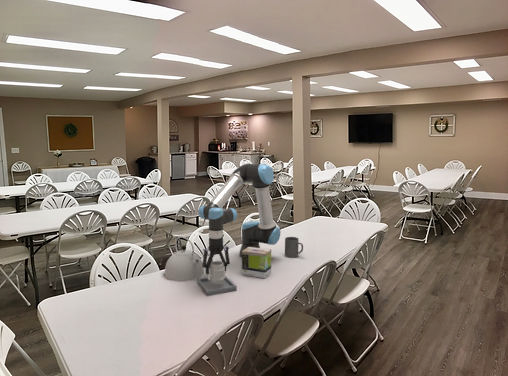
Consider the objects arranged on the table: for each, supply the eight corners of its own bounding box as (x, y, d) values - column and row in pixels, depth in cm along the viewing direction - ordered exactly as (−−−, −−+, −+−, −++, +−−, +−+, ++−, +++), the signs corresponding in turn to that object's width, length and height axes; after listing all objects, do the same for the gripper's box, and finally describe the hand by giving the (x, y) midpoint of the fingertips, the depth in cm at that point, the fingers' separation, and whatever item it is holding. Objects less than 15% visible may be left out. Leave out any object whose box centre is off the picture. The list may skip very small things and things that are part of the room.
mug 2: (282, 256, 258) (282, 238, 257) (289, 252, 265) (290, 236, 264) (299, 260, 250) (299, 242, 248) (306, 256, 257) (306, 239, 255)
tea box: (271, 273, 227) (271, 249, 225) (264, 279, 218) (265, 254, 216) (248, 269, 233) (248, 245, 231) (241, 274, 224) (241, 250, 222)
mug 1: (216, 284, 199) (216, 262, 197) (202, 278, 207) (202, 257, 205) (227, 281, 204) (227, 259, 202) (213, 274, 212) (213, 254, 211)
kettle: (214, 274, 224) (213, 237, 221) (181, 285, 208) (180, 245, 205) (188, 264, 241) (188, 229, 238) (157, 273, 225) (156, 236, 222)
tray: (197, 283, 211) (197, 279, 211) (224, 278, 218) (224, 274, 218) (207, 295, 195) (207, 291, 195) (236, 290, 202) (236, 286, 202)
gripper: (199, 241, 195) (200, 284, 198) (236, 236, 204) (236, 277, 207) (195, 237, 202) (195, 279, 205) (231, 233, 210) (231, 273, 214)
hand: (216, 278), depth 206 cm, fingers closed on mug 1, 7 cm apart
